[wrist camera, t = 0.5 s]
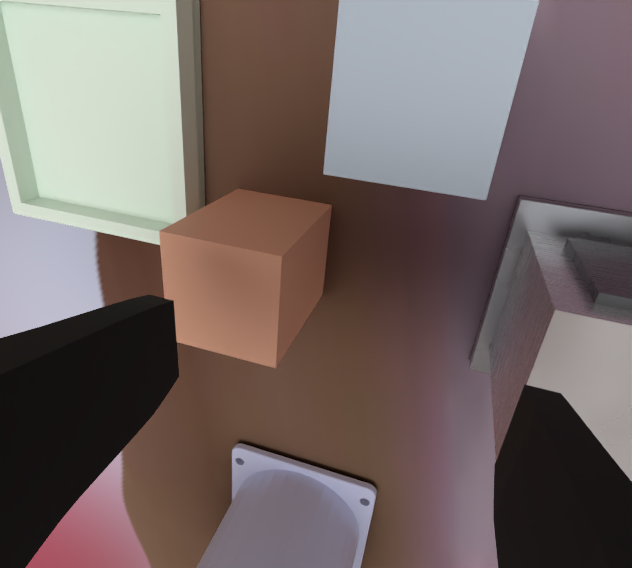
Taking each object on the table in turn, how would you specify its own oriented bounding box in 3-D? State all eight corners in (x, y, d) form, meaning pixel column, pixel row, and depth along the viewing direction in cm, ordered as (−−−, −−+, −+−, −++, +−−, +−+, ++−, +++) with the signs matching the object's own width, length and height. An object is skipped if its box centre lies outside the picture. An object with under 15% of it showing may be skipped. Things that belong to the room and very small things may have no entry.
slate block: (480, 158, 15) (485, 200, 11) (365, 142, 16) (323, 174, 11) (514, 23, 13) (539, 0, 9) (382, 13, 14) (340, -12, 10)
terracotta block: (322, 294, 19) (275, 368, 15) (237, 275, 20) (167, 339, 16) (332, 204, 18) (281, 256, 13) (238, 188, 18) (158, 231, 14)
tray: (206, 238, 20) (188, 251, 19) (40, 204, 22) (13, 213, 21) (199, -1, 16) (175, -7, 14) (-5, -16, 18) (-42, -23, 16)
